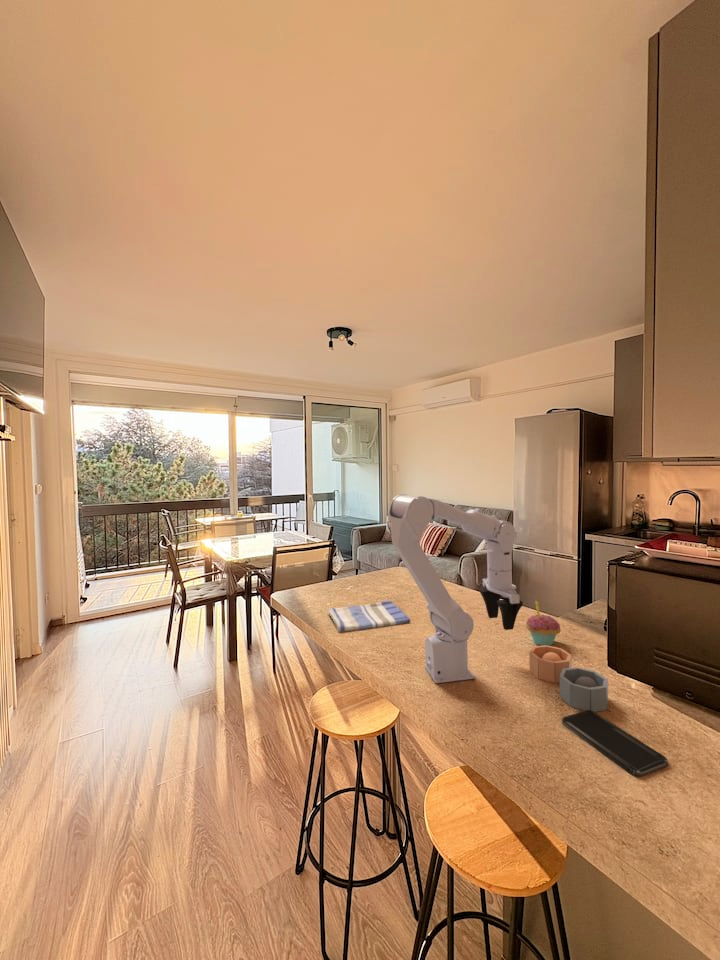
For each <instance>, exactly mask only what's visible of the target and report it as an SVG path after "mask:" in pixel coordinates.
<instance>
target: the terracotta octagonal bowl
mask: <svg viewBox="0 0 720 960" xmlns="http://www.w3.org/2000/svg"><path fill="white" fill-rule="evenodd" d="M548 652H553V653H556V654H557V655H559V656H560V658H561V659H562V661H550V660H546V659H542V657H543V656H544V654H546V653H548ZM528 654H529V672H530V673H531V674H532V675H534V676H535V678H537V679H539V680H542V681H545V682H551V683H554V684H558V683H559V684H560V673H561V671H562V669H564V668H573V666H572V664H573V663H572V653H571V654H570V653H569V652H568V651H566V650H564V649H563V648H560V647H555V646H552V645H551V646H548V645H543V646H541V645H536V646H532V648H530V650H529V652H528Z"/></svg>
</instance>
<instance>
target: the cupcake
mask: <svg viewBox="0 0 720 960" xmlns="http://www.w3.org/2000/svg"><path fill="white" fill-rule="evenodd" d="M535 608H536V609H535V610H536V614H535V615H532V616H530V617H529V618H528V619H527V620H526V623H525V625H526V626H525V627H526V630H528V631H529V632H530V635H531V637H532V640H533V643H535V644H536V645H537V646H543V645H548V646H552V645H553V644H554V642H555V639H556V636H557V635H559V633H561V626H560V623H559V622H558V621H557V620H556V619H555V618H553V617H551V616H550V615H546V614H545V615H544V614H541V613H540V607H539V602H538V601H537V598H536V599H535Z"/></svg>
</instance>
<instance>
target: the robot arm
mask: <svg viewBox="0 0 720 960" xmlns="http://www.w3.org/2000/svg"><path fill="white" fill-rule="evenodd" d="M387 516H388V519H389V520H390V535H391V543H392V546H393V548H394V549H395V551H396V552H397V554H398V556H399V558H400V559H401V560H402V562H403V564H404V565H405V568H406V569H407V571H408V572H409V575H410V576H411V577H412V579H413V580H414V582H415V584H416V586H417V587H418V588H419V590H420V592H421V594H422V596H423V597H424V599H425V600H426V602H427V604H426V608H427V610H428V613H429V620H430V622H431V624H432V625H433V626H434V632H435V634H433V635H431V636H428V637H426V638H425V642H424V644H425V645H424V648H425V650H424V652H425V665H424V668H425V669H426V671H427V673H428V674H429V675H430V676H431V678H432V680H433V682H434V683H436V684H440V683H449V682H457V681H465V680H466V681H467V680H473V679H476V675H475V674H473V672H472V671H471V670H470V669H469V666H468V665H469V662H468V659H469V656H468V655H469V654H468V651H469V650H468V640H469V639H470V638H469V637H470V636H471V635H472V633H473V631H474V628H475V627H474V626H475V625H474V624H475V623H474V620H473V617H472V616H471V615H470V614H469V613H467V612H465V611H464V610H463V608H462V607H461V604H459V603H458V602H457V601H455V599H453V598H452V596H451V595H450V594H449V592H448V590H447V588H446V586H445V584H444V583H443V582H442V580H441V578H440V576H439V575H438V573H437V571H436V570H435V568H434V566H433V565H432V562H431V561H430V559H429V557H428V556H427V555H426V553H425V551H424V549H423V548H422V546H421V544H420V543H419V541H420V538H421V537H422V535H423V533H424V532H425V530H426V529H427V527H428V526H429V523H431V521H432V520H434V521H436V520H438V518H440V519H443V520H445V521H449V522H452V523H455V524H458V525H460V527H461V529H462V531H463V532H465V533H467V534H469V535H472V536H475V537H478V538H481V539H483V541H485V542H486V562H487V563H486V566H487V568H486V569H487V573H486V575H487V577H486V578H482V586H483V588H480V589H479V593H480V595H481V597H482V598H483V599H482V600H483V602H484V605H485V607H486V612H487V616H488V618H489V619H494V618H498V617H499V610H500V614H501V621H502V627H503V629H504V630H505V631H508V630H509V631H510V630H514V627H515V623H516V620H517V617H518V616H517V615H518V613H519V611H520V609H521V608H522V607H523V603H524V602H523V601H522V600H520V594H518V593H517V591H516V589H517V585H515V584H513V560H512V559H513V555H512V553H513V550H514V543H515V541H516V540H517V537H518V532H517V531H516V529H515V527H514V525H513V524H512V523H511V522H510V521H507V520H500V519H498V516H496V515H494V514H493V515H489V514H485V513H484V512H483V509H480V508H476V507H475V508H474V509H473V508H472V509H471V508H470V509H468V510H467V511H463V510H462V509H460V508H458V507H457V508H456V506H452V505H450V504H448V503H445V502H443V501H441V500H438V499H434V498H428V497H426V496H420V495H419V496H414V495H408V494H405V493H402V494H398V495H396V496H394V497H393V499H391V502H390V505H389V508H388V511H387ZM501 598H504V599H501Z"/></svg>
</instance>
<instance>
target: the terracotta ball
mask: <svg viewBox="0 0 720 960" xmlns="http://www.w3.org/2000/svg"><path fill="white" fill-rule="evenodd" d="M542 659H546V660H550V661H562V659H561V658H560V656H559V655H557V654H556V653H553V652H548V653H546V654H544V656H543V657H542Z"/></svg>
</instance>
